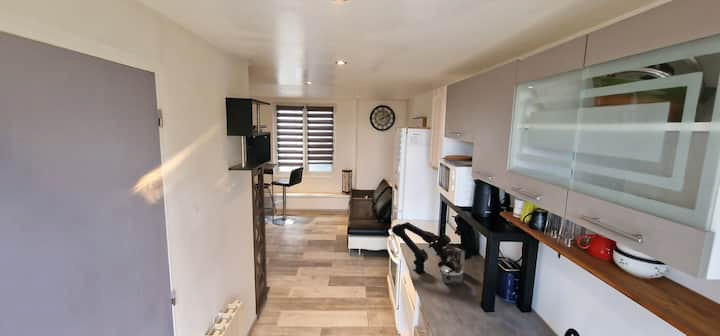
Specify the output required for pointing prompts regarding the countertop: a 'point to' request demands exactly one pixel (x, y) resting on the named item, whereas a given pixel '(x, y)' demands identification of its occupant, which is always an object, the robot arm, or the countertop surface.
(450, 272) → the cooker lid
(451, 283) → the cooker pot
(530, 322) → the countertop surface
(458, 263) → the coffee box
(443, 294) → the countertop surface
